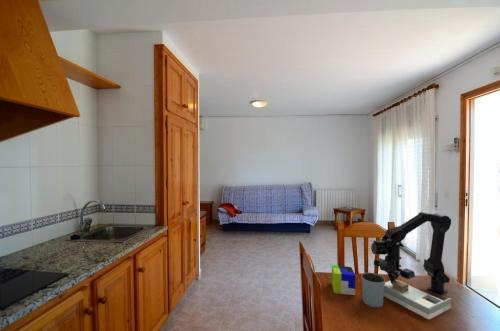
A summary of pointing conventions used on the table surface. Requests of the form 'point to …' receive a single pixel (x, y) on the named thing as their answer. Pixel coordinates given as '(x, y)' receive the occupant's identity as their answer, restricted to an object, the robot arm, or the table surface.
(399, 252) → the robot arm
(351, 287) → the puzzle toy
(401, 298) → the tray
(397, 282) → the block
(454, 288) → the table surface
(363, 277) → the grey cup
